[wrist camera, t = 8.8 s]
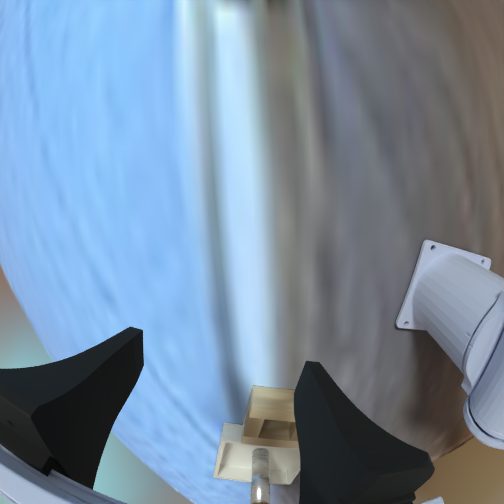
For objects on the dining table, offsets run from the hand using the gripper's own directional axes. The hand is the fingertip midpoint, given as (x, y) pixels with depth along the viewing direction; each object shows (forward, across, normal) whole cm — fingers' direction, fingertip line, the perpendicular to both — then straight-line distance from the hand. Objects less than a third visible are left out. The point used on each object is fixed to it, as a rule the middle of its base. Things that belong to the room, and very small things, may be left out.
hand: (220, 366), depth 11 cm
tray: (+10, -6, +22) cm, 25 cm away
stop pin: (+10, -6, +22) cm, 25 cm away
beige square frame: (+10, -6, +14) cm, 18 cm away
